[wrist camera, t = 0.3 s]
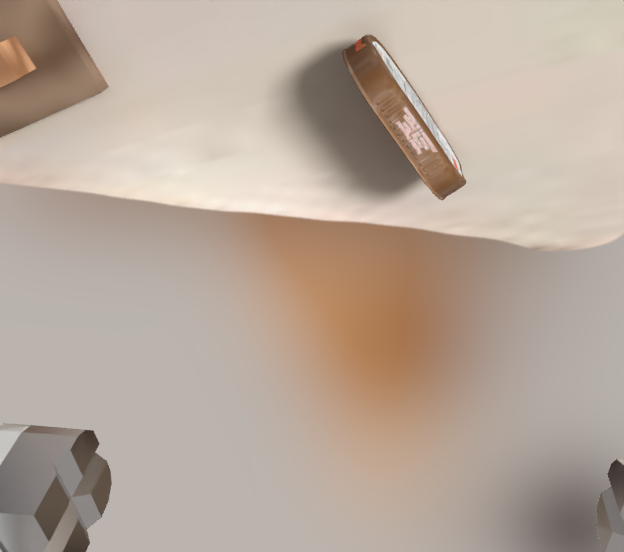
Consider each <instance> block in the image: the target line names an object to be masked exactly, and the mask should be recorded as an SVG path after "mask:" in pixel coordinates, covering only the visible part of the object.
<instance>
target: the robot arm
mask: <svg viewBox="0 0 624 552" xmlns="http://www.w3.org/2000/svg"><path fill="white" fill-rule="evenodd" d="M98 445H99V442H98V439H97V437H96V435H95V433H94V431H92V430H80V429H68V428H57V427H45V426H33V425H18V424H3V425H1V426H0V552H86V550H87V548H88V546H89V544H90V541H89V537H88V532H87V529H88V528H89V527H90V526H91V525H93V524H94V523H95V522H96V521H97V520H99V519H100V518H101V517H102V514H103V512H104V510H105V508H106V505H107V503H108V500H109V495H110V489H111V484H112V483H111V472H110V468H109V466H108V463H107V461H106V460H105V459H103V458H102V457H101V456H99V455H98V454H97V453H95V451H96V449H97V448H98ZM608 478H609V481H610V484H611V487H610V488H608V489H607V490H605V491H603V492H602V493H601V494H600V498H599V501H598V505H597V531H598V538H599V542H600V546H601V550H602V552H624V459H616V460H615V461H614V462H613V463H612V464H611V467H610V469H609V472H608Z"/></svg>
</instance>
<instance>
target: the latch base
mask: <svg viewBox="0 0 624 552" xmlns="http://www.w3.org/2000/svg"><path fill="white" fill-rule="evenodd" d="M106 88H108V85H107V84H106V82H105V80H104V78H103V77H102V75H101V73H100V72H99V70H98V68H97V67H96V65H95V63H94V62H93V60H92V58H91V57H90V55H89V53H88V52H87V50H86V48H85V47H84V45H83V43H82V42H81V40H80V38H79V37H78V35H77V33H76V32H75V30H74V28H73V27H72V25H71V23H70V22H69V20H68V18H67V17H66V15H65V13H64V12H63V10H62V8H61V7H60V5H59V3H58V2H57V0H0V137H2V136H4V135H6V134H9V133H11V132H13V131H15V130H18V129H20V128H22V127H24V126H27V125H29V124H31V123H33V122H36V121H38V120H40V119H42V118H45V117H47V116H49V115H51V114H54V113H56V112H58V111H60V110H63V109H65V108H67V107H69V106H72V105H74V104H76V103H78V102H81V101H83V100H85V99H87V98H90V97H92V96H94V95H96V94H98V93H101V92H102V91H104V90H105V89H106Z"/></svg>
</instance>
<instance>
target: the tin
mask: <svg viewBox="0 0 624 552" xmlns="http://www.w3.org/2000/svg"><path fill="white" fill-rule="evenodd" d="M342 55H343V59H344V61H345V64H346V66H347V68H348V71H349V72H350V74H351V76H352V78H353V80H354V82H355V83H356V85H357V87H358V88H359V90H360V92H361V93H362V95H363V96H364V98H365V99H366V101H367V102H368V104H369V105H370V107H371V108H372V110H373V111H374V112H375V114H376V115H377V117H378V118H379V119H380V121H381V122H382V124H383V125H384V126H385V128H386V129H387V131H388V132H389V134H390V135H391V136H392V138H393V139H394V140H395V142H396V143H397V145H398V146H399V147H400V149H401V150H402V152H403V153H404V154H405V156H406V157H407V159H408V160H409V162H410V163H411V164H412V166H413V167H414V168H415V170H416V171H417V173H418V174H419V176H420V177H421V178H422V180H423V181H424V183H425V184H426V185H427V186H428V188H429V189H430V190H431V191H432V192H433V194H435V196H437V197H438V198H439V199H440V200H444V199H445V198H446V197H447V196H448V195H450V194H451V193H453V192H455V191H456V190H458V189H459V188H461V187H462V186H464V185H465V184H466V180H465V179H464V176H463V174H462V169H461V165H460V162H459V160H458V158H457V157H456V155H455V153H454V151H453V150H452V148H451V146H450V145H449V143H448V141H447V140H446V138H445V137H444V135H443V133H442V132H441V130H440V129H439V127H438V126H437V124H436V123H435V121H434V120H433V118H432V117H431V115H430V113H429V112H428V110H427V109H426V107H425V106H424V104H423V103H422V101H421V99H420V98H419V96H418V95H417V93H416V92H415V90H414V89H413V88H412V86H411V85H410V83H409V82H408V80H407V79H406V77H405V76H404V74H403V73H402V71H401V70H400V69H399V67H398V66H397V64H396V63H395V61H394V60H393V59H392V57H391V56H390V55H389V53H388V52H387V51H386V49H385V48H384V47H383V45H382V44H381V43H380V42H379V41H378V40H377V39H376V38H375V37H374V36H372V35H366V36H364V37H362V38H361V39H360V40H358V41H357V42H356V43H355V44H353V45H352V46H351V47H349V48H348V49H345V50H343V52H342Z"/></svg>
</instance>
